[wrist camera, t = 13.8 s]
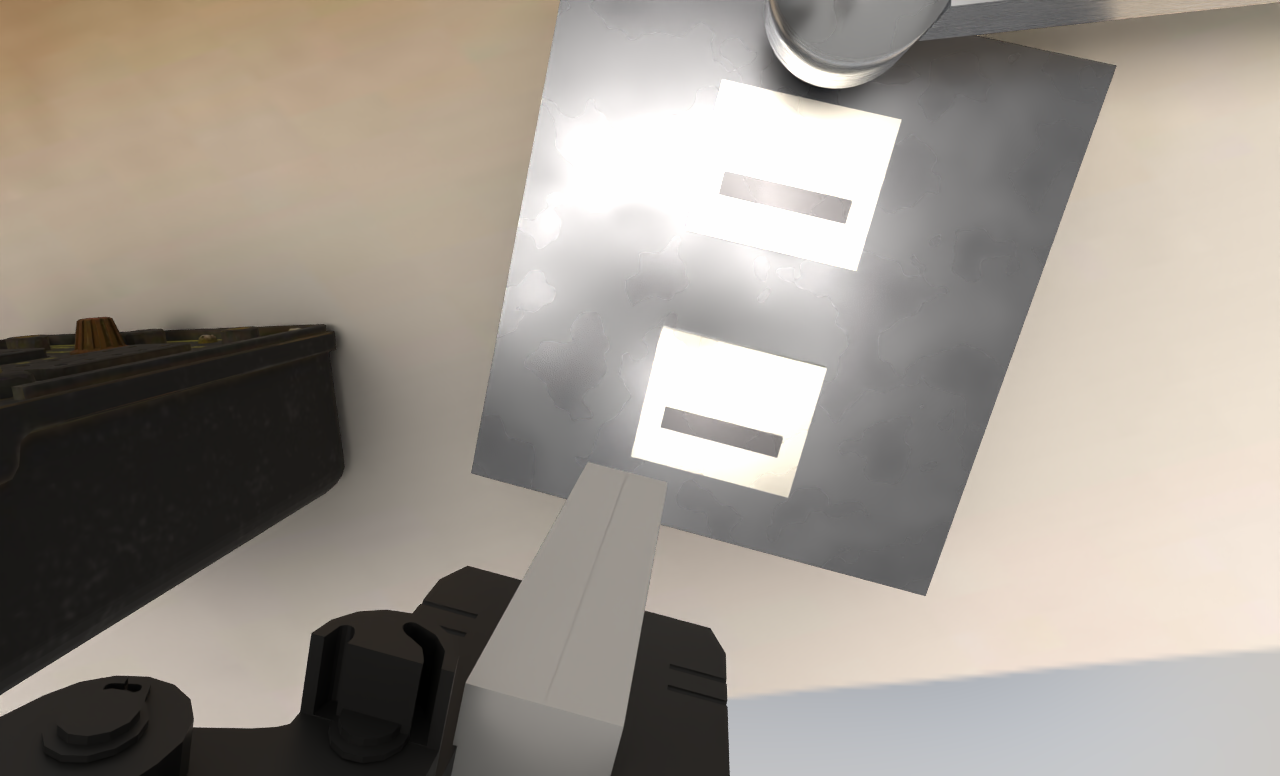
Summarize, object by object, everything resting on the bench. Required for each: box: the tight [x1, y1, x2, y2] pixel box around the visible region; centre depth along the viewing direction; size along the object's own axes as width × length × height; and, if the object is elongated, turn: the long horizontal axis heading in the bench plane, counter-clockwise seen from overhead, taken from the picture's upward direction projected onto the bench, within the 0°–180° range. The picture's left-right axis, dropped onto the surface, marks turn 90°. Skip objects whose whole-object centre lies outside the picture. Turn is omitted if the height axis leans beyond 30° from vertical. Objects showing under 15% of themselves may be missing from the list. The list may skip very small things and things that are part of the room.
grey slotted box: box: [471, 0, 1116, 596], centre depth 25 cm, size 18×20×6 cm
